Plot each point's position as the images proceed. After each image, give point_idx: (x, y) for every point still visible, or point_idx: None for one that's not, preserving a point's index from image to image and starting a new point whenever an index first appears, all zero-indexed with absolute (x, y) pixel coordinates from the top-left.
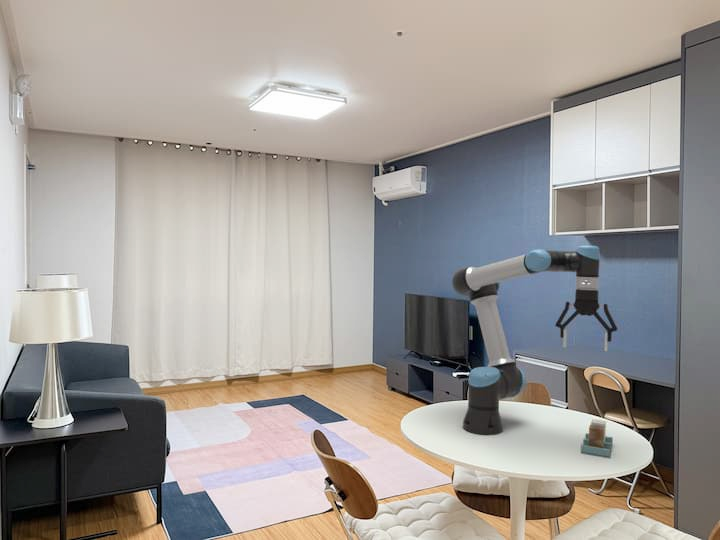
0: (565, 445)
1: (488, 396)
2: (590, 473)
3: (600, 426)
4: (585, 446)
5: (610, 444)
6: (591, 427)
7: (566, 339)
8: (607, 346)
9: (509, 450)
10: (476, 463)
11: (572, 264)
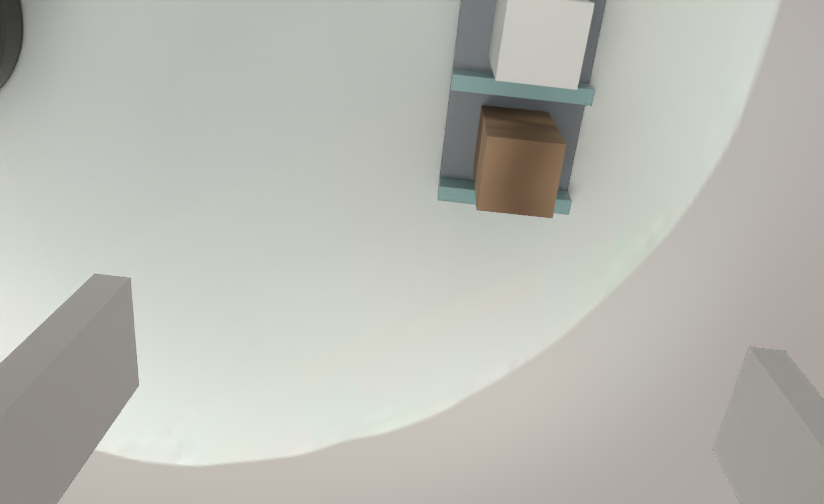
0: (365, 90)
1: None
2: (469, 393)
3: (543, 153)
4: (458, 201)
5: (587, 103)
6: (490, 197)
7: (68, 360)
8: (814, 397)
9: (144, 276)
10: None
11: None
